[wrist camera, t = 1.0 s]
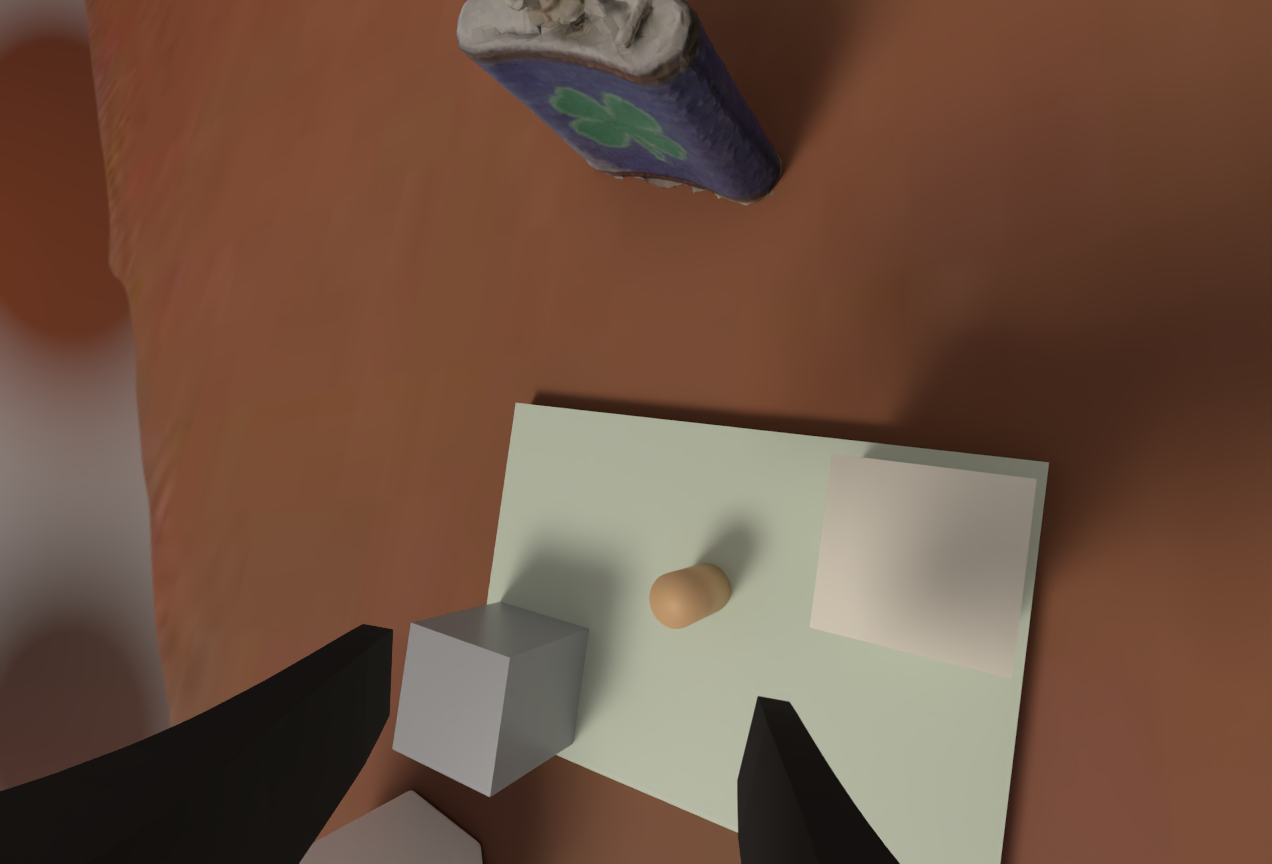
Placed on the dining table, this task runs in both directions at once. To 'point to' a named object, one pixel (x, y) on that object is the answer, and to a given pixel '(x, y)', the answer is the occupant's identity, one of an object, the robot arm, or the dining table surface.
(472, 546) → the dining table surface
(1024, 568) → the cream colored cube
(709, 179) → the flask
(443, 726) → the grey sharp-edged cube
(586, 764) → the board
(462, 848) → the jar
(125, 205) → the dining table surface
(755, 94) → the dining table surface
